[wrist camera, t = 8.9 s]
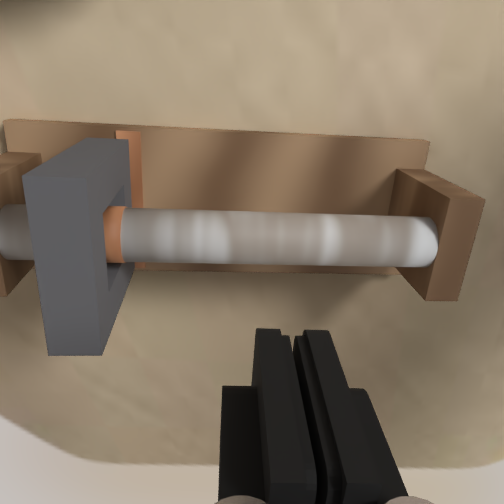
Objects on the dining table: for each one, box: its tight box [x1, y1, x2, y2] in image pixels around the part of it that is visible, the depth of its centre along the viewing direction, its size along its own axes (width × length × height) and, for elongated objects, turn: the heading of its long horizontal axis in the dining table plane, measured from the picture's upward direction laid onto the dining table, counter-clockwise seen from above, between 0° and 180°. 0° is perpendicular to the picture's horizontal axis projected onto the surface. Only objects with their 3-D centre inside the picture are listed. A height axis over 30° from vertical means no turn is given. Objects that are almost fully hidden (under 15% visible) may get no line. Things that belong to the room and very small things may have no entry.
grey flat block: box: [22, 138, 135, 356], centre depth 19 cm, size 2×7×8 cm, turn 176°
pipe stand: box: [0, 119, 485, 301], centre depth 22 cm, size 22×8×7 cm, turn 87°
